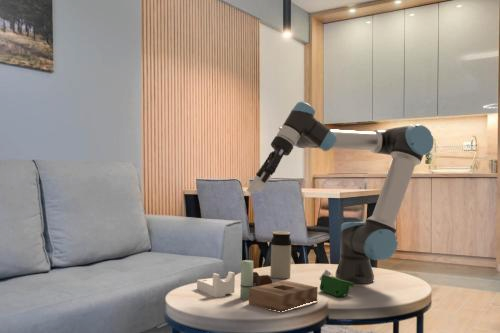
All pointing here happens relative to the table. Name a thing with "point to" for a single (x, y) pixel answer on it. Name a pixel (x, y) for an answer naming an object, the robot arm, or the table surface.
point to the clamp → (335, 286)
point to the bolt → (261, 279)
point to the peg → (246, 278)
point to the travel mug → (280, 255)
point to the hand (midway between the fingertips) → (253, 191)
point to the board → (282, 295)
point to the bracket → (217, 285)
